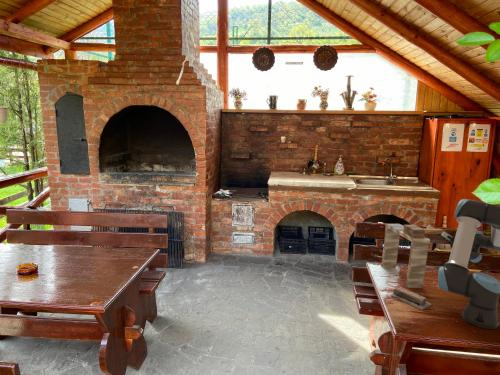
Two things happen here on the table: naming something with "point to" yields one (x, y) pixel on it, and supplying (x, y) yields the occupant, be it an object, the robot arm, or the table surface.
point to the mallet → (419, 231)
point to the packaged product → (410, 298)
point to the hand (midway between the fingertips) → (435, 229)
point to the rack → (416, 254)
